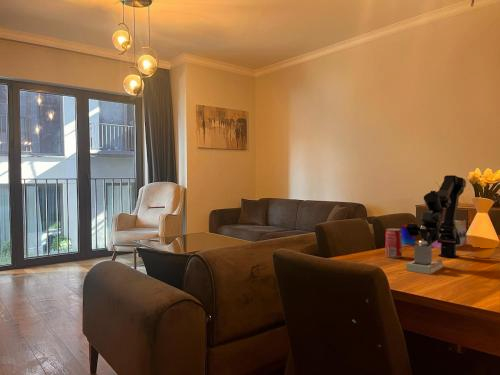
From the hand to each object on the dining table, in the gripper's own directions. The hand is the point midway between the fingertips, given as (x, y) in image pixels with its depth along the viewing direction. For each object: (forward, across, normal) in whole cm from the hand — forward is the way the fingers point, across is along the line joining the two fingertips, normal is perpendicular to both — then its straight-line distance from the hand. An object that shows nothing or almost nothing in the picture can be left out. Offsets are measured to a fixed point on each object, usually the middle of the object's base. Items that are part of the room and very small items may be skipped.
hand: (425, 247), depth 158 cm
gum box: (-38, -9, +50) cm, 63 cm away
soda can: (-4, -19, +16) cm, 25 cm away
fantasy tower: (-29, -26, +42) cm, 57 cm away
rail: (+6, 0, +6) cm, 9 cm away
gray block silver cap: (+7, 0, +3) cm, 8 cm away
